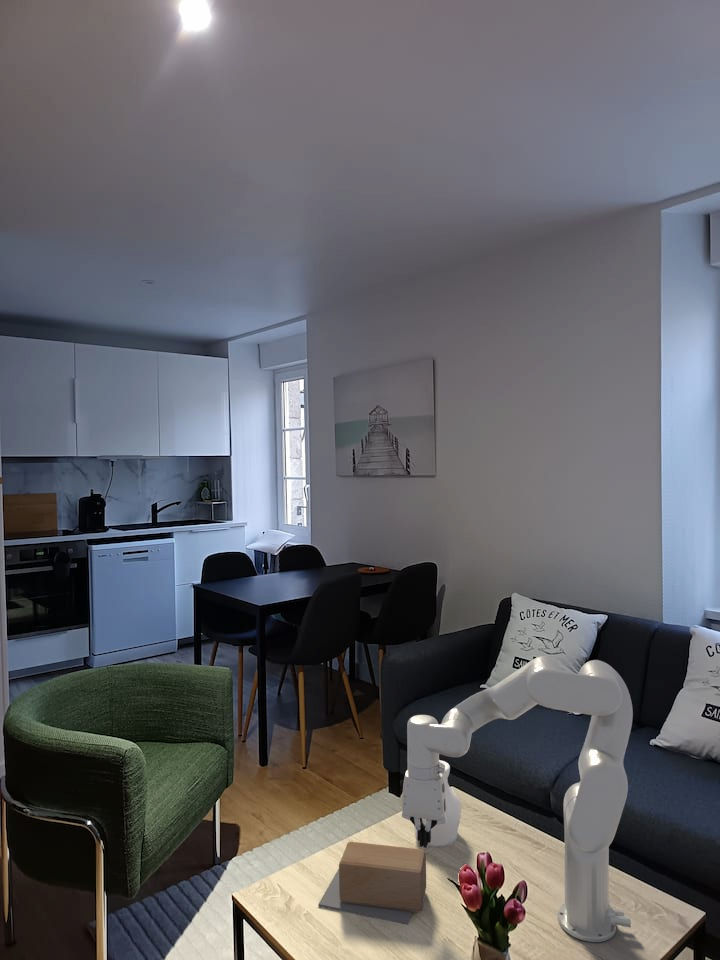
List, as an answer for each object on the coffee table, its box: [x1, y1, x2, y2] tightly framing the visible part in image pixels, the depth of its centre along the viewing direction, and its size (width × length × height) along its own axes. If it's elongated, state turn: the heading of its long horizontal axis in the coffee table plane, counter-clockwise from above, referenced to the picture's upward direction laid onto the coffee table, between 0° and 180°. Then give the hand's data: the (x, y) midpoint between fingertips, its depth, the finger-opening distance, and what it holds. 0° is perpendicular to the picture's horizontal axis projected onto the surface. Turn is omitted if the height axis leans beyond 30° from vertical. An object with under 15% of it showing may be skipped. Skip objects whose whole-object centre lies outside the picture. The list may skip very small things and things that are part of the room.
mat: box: [318, 868, 414, 925], centre depth 166 cm, size 22×18×1 cm
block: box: [338, 841, 427, 913], centre depth 164 cm, size 10×10×20 cm
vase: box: [413, 759, 462, 848], centre depth 190 cm, size 14×14×20 cm
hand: (424, 844), depth 162 cm, fingers closed
